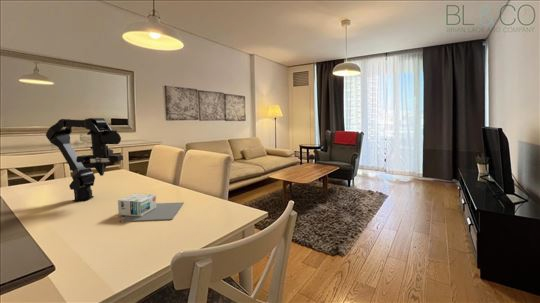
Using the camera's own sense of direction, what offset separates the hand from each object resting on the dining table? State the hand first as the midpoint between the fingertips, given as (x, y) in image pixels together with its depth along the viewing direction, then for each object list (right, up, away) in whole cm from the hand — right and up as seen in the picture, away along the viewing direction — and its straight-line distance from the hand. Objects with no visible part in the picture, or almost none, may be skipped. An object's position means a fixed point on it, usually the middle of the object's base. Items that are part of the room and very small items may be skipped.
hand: (101, 175), depth 122 cm
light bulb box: (+20, -11, -14) cm, 27 cm away
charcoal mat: (+32, -15, -13) cm, 38 cm away
